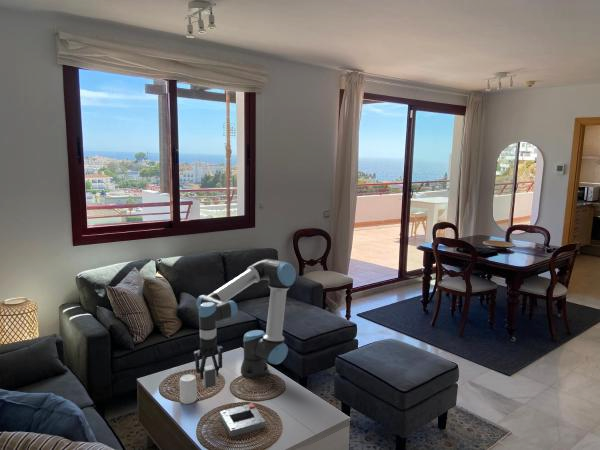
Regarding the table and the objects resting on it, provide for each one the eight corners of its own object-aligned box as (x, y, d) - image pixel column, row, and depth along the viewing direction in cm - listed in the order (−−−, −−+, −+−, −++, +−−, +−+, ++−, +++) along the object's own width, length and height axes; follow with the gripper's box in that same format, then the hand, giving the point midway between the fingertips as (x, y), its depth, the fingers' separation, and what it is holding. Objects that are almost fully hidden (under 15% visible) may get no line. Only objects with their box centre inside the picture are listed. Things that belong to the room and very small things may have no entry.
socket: (252, 408, 213) (252, 401, 212) (265, 427, 198) (265, 419, 198) (219, 417, 205) (219, 410, 205) (230, 437, 191) (230, 429, 191)
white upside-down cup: (192, 405, 215) (191, 382, 213) (177, 403, 216) (176, 380, 214) (199, 396, 222) (199, 374, 221) (184, 395, 224) (183, 372, 222)
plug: (212, 381, 210) (212, 364, 209) (215, 385, 206) (215, 368, 205) (203, 383, 208) (203, 366, 207) (206, 387, 204) (205, 370, 203)
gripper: (224, 330, 211) (225, 376, 214) (187, 336, 203) (188, 384, 207) (229, 336, 204) (230, 383, 208) (190, 343, 196) (192, 392, 200)
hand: (209, 383), depth 207 cm, fingers closed on plug, 4 cm apart
